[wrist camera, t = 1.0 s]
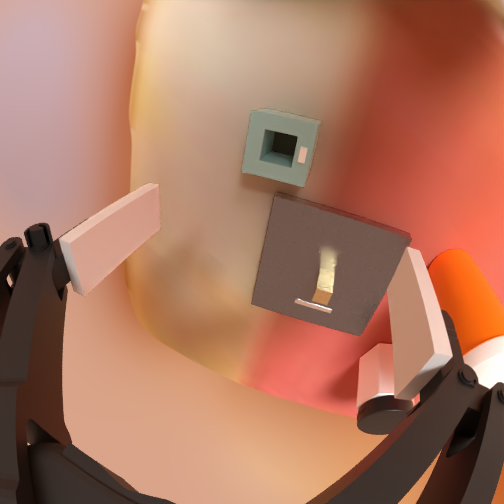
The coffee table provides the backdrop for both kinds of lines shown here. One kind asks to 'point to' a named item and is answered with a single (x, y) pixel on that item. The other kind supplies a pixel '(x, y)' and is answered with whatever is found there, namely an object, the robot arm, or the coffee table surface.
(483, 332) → the shaker bottle
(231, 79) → the coffee table surface
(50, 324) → the robot arm
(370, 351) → the jar
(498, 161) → the coffee table surface
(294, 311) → the hub plate
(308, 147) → the teal open box
